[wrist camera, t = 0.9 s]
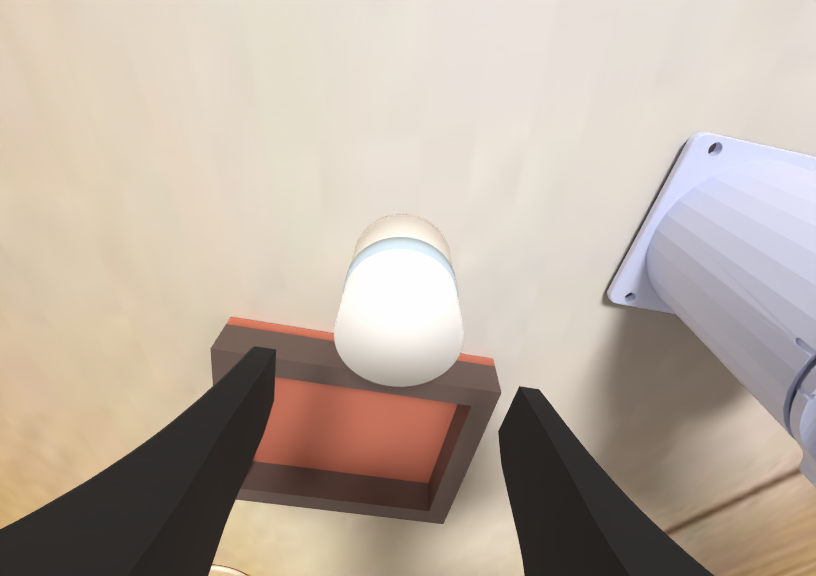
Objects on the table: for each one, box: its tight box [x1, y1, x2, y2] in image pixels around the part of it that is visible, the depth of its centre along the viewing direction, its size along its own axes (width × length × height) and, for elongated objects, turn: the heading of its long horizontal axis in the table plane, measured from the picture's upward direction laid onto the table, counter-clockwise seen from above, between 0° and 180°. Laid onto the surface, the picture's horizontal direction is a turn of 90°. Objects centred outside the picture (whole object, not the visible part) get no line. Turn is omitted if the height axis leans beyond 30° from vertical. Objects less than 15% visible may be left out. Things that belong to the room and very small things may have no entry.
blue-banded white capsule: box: [334, 214, 464, 387], centre depth 17 cm, size 5×5×6 cm
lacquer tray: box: [211, 317, 501, 524], centre depth 24 cm, size 14×12×2 cm
